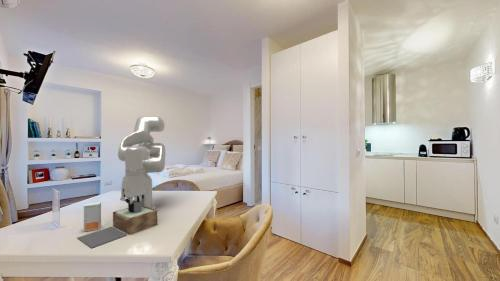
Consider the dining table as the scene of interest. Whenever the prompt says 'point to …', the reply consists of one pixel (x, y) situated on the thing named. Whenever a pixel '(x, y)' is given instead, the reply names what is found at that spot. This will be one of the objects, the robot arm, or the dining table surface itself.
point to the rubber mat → (101, 237)
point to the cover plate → (130, 214)
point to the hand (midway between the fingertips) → (134, 210)
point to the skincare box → (92, 216)
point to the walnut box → (135, 221)
